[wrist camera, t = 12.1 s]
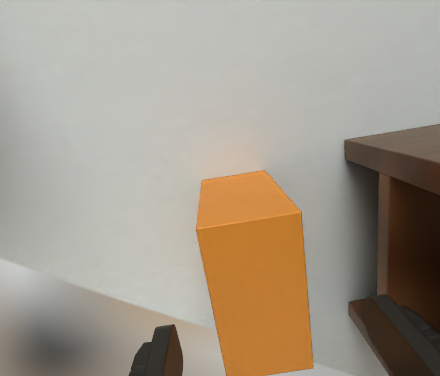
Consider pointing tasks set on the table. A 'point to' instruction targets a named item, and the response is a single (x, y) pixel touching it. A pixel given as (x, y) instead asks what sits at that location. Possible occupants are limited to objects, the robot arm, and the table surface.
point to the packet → (255, 274)
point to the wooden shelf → (404, 220)
